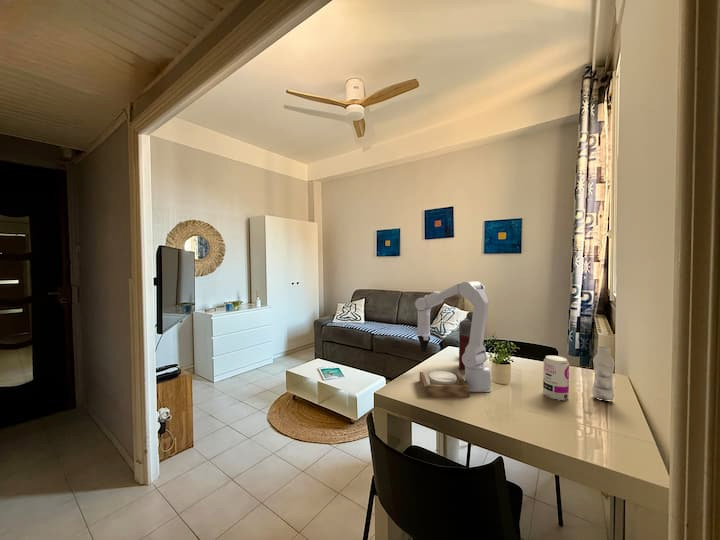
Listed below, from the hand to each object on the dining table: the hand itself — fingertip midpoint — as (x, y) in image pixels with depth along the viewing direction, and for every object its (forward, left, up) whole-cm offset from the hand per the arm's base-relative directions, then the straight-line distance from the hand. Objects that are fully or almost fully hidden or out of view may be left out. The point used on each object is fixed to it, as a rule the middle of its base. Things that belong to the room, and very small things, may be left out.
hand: (423, 351), depth 143 cm
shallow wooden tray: (-5, +19, -9) cm, 21 cm away
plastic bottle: (-63, +26, -10) cm, 69 cm away
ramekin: (-5, +19, -10) cm, 22 cm away
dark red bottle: (-24, -5, -10) cm, 26 cm away
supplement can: (-47, +24, -10) cm, 54 cm away
